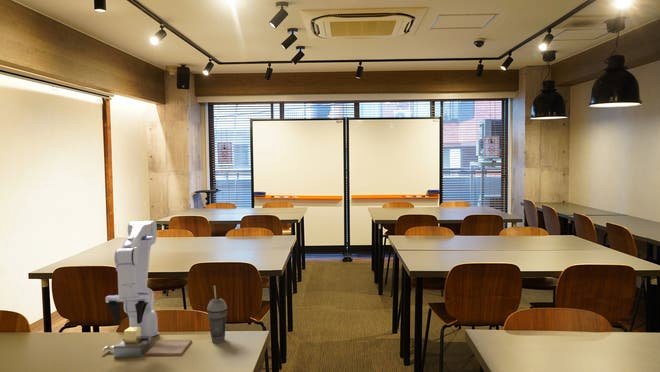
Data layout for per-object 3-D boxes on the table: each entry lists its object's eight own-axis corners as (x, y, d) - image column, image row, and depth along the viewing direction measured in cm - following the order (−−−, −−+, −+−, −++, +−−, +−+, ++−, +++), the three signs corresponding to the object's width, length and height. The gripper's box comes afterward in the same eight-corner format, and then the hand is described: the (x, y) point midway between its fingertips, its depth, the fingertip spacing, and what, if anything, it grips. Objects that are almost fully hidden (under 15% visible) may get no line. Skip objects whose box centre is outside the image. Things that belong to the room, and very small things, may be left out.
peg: (129, 349, 164) (129, 327, 164) (141, 349, 164) (140, 326, 164) (124, 354, 161) (124, 331, 160) (136, 354, 160) (135, 331, 160)
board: (158, 342, 171) (158, 340, 171) (191, 341, 171) (191, 339, 171) (145, 356, 159) (145, 353, 159) (181, 355, 159) (181, 353, 159)
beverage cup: (216, 346, 166) (215, 290, 165) (203, 341, 171) (201, 287, 170) (232, 339, 172) (231, 285, 171) (219, 335, 176) (217, 282, 175)
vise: (110, 347, 167) (110, 336, 167) (151, 346, 167) (150, 335, 167) (98, 357, 158) (97, 346, 158) (141, 356, 158) (140, 345, 158)
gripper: (100, 286, 157) (101, 326, 158) (143, 286, 157) (144, 326, 157) (110, 281, 164) (112, 320, 165) (151, 281, 164) (153, 319, 164)
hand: (128, 322), depth 161 cm, fingers open, 7 cm apart
